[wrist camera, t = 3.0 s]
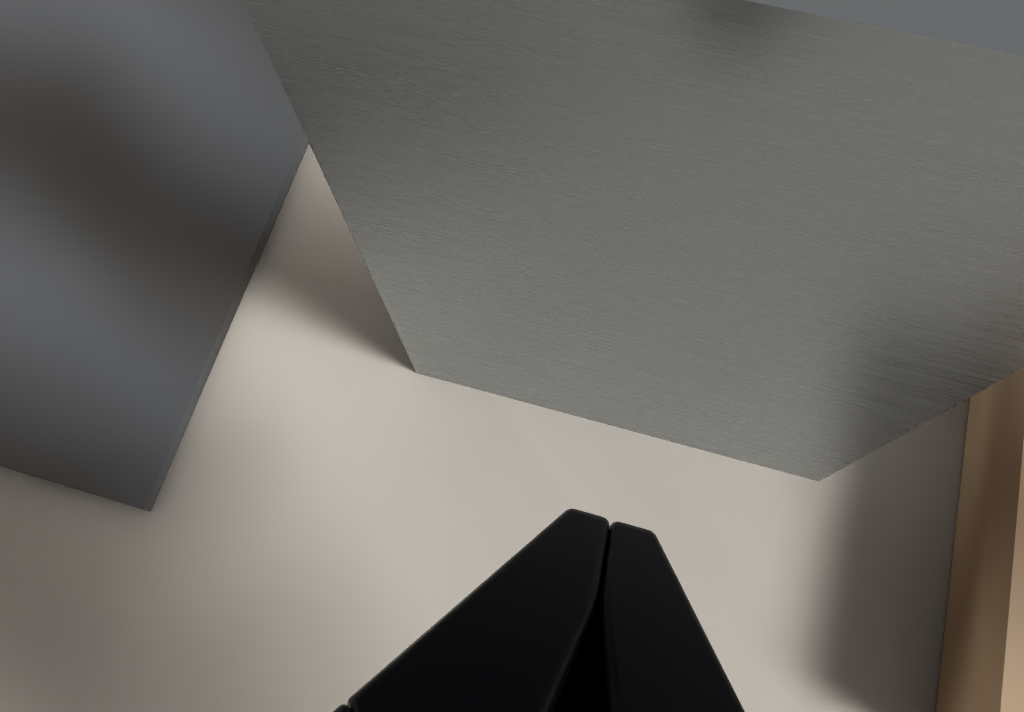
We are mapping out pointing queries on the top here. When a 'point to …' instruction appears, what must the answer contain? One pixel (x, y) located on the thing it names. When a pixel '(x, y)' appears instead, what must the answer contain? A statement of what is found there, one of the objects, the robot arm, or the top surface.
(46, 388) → the trap lane
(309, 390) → the top surface
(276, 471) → the top surface
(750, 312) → the bookend
